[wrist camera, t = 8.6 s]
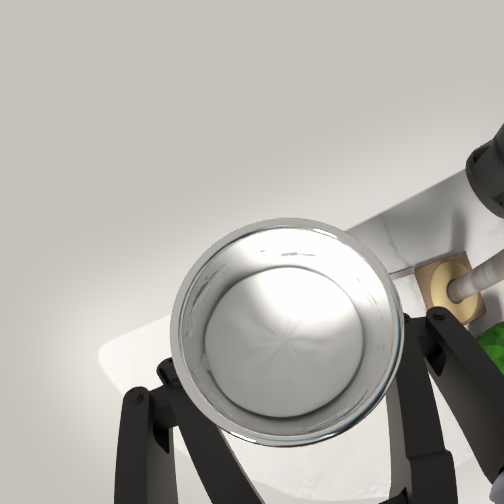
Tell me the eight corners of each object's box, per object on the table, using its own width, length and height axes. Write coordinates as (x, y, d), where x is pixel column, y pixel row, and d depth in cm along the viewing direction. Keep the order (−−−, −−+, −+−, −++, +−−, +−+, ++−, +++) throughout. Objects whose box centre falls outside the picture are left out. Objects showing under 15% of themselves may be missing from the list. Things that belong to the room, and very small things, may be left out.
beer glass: (226, 319, 22) (149, 241, 9) (312, 298, 23) (364, 191, 9) (246, 404, 20) (191, 472, 6) (334, 381, 20) (434, 404, 6)
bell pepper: (473, 397, 27) (517, 398, 18) (450, 357, 30) (495, 350, 21) (502, 358, 29) (545, 350, 19) (481, 319, 32) (524, 303, 22)
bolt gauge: (459, 250, 36) (509, 209, 24) (482, 314, 32) (540, 289, 20) (226, 320, 35) (200, 296, 23) (246, 403, 31) (230, 426, 19)
